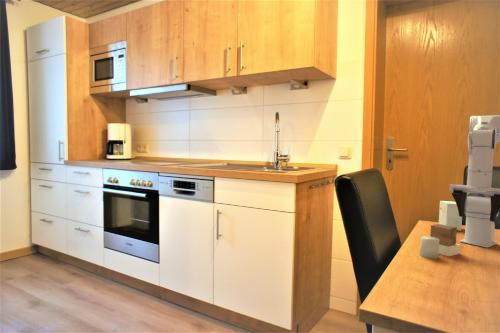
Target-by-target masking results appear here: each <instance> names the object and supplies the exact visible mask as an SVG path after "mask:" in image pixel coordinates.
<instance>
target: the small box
mask: <svg viewBox="0 0 500 333" xmlns="http://www.w3.org/2000/svg"><path fill="white" fill-rule="evenodd" d="M438 212H439V213H438V214H439V215H438V224H442V225H448V226H453V227H457V232H458V231H460V232H461V231H462V226H463V225H462V223H463V222H462V221H463V217H460V216H459V212H458V208H457V205H456V202H455V201H451V200H450V201H449V200H448V201H447V200H440V201H439V210H438Z"/></svg>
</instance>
